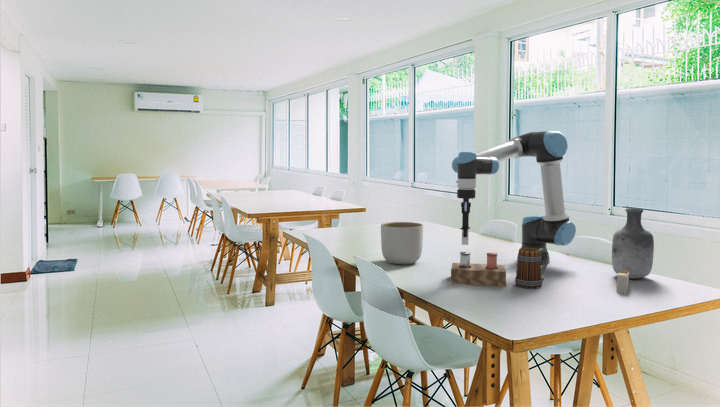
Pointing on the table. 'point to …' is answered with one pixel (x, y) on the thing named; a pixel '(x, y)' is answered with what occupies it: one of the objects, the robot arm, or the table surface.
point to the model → (623, 281)
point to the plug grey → (465, 259)
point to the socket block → (478, 275)
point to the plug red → (491, 260)
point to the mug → (530, 268)
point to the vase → (633, 247)
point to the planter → (401, 242)
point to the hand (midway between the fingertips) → (464, 244)
